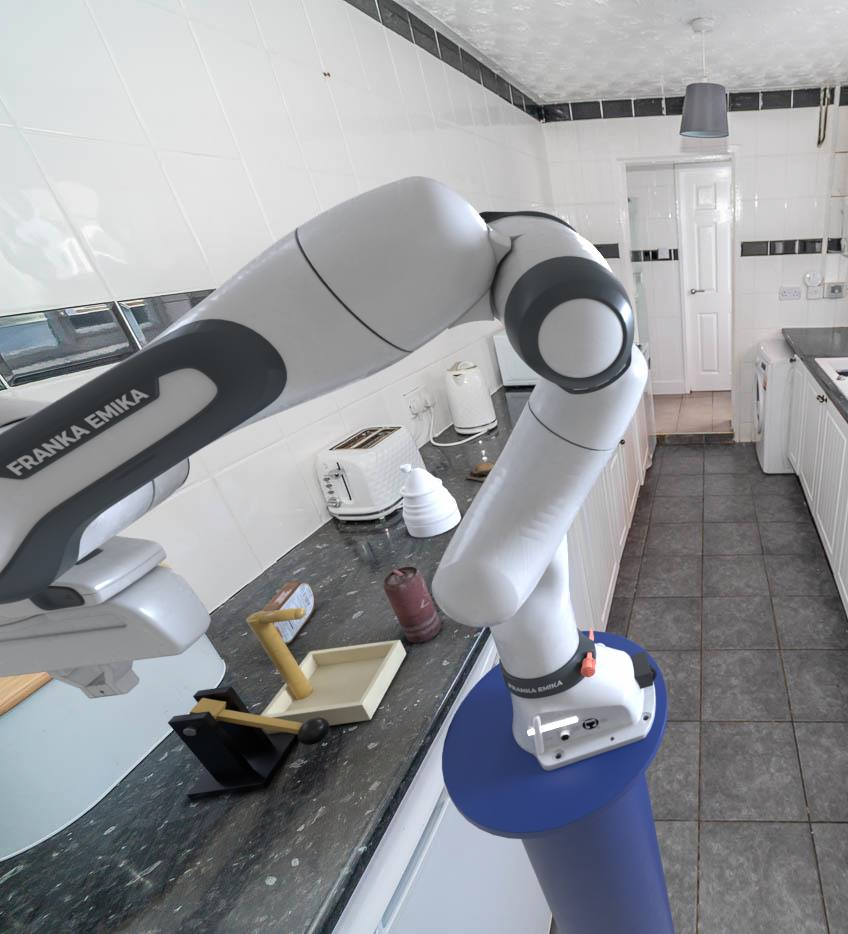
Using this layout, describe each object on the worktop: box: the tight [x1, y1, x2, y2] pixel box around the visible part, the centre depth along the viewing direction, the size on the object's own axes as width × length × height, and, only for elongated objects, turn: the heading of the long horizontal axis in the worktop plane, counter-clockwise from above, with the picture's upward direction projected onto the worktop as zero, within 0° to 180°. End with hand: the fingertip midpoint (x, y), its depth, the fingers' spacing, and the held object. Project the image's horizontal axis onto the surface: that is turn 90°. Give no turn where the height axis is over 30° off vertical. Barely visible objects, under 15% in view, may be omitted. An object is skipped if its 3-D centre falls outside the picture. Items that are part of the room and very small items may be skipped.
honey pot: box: [398, 463, 462, 538], centre depth 127 cm, size 13×13×18 cm
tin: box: [257, 580, 317, 646], centre depth 96 cm, size 15×3×8 cm, turn 12°
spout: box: [245, 608, 313, 700], centre depth 78 cm, size 8×2×18 cm, turn 97°
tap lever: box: [188, 698, 330, 746], centre depth 68 cm, size 16×4×4 cm, turn 97°
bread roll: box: [466, 461, 495, 482], centre depth 156 cm, size 11×8×4 cm
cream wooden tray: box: [259, 639, 407, 735], centre depth 82 cm, size 16×14×4 cm
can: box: [382, 566, 442, 644], centre depth 91 cm, size 6×6×14 cm
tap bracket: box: [167, 685, 300, 801], centre depth 68 cm, size 10×8×14 cm
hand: (116, 690), depth 46 cm, fingers closed
